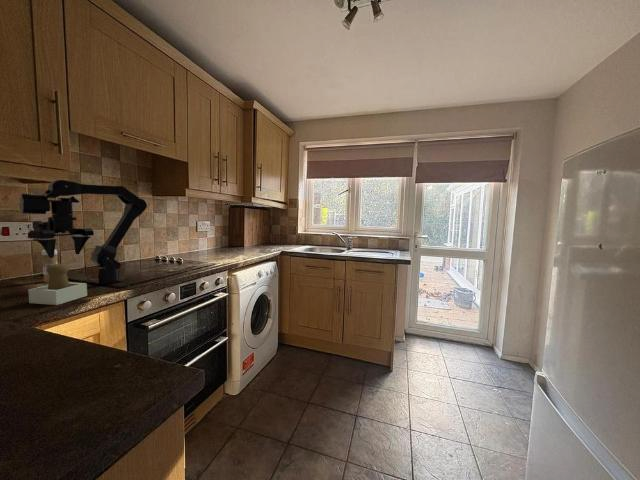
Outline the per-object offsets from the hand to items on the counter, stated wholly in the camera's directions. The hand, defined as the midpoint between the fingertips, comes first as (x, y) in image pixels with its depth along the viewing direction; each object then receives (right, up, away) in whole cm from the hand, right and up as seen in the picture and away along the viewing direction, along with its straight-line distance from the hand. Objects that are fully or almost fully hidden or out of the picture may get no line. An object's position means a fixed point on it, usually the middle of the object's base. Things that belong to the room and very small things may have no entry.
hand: (64, 256), depth 100 cm
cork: (+8, -13, -10) cm, 18 cm away
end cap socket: (+8, -14, -10) cm, 19 cm away
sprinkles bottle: (-17, -12, +12) cm, 24 cm away
